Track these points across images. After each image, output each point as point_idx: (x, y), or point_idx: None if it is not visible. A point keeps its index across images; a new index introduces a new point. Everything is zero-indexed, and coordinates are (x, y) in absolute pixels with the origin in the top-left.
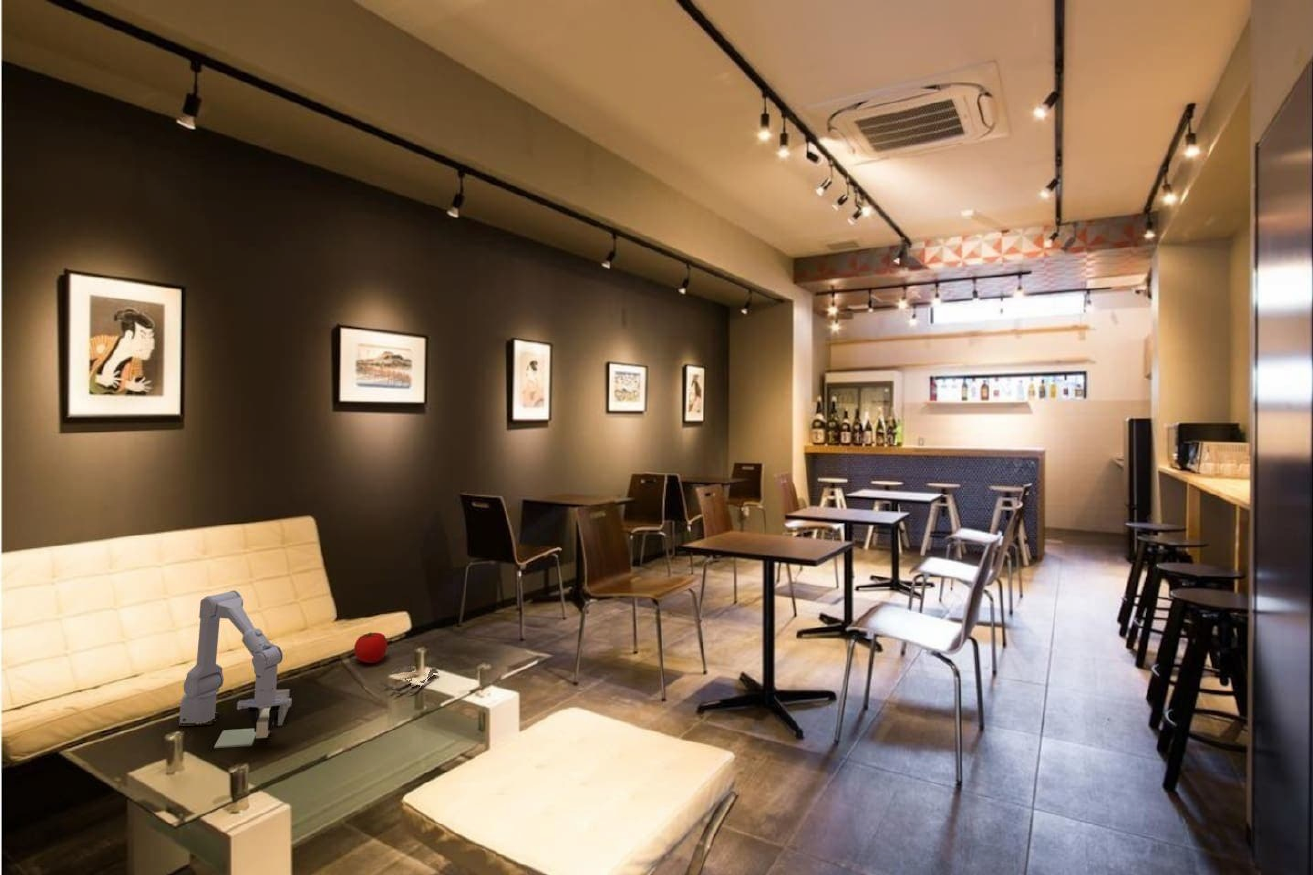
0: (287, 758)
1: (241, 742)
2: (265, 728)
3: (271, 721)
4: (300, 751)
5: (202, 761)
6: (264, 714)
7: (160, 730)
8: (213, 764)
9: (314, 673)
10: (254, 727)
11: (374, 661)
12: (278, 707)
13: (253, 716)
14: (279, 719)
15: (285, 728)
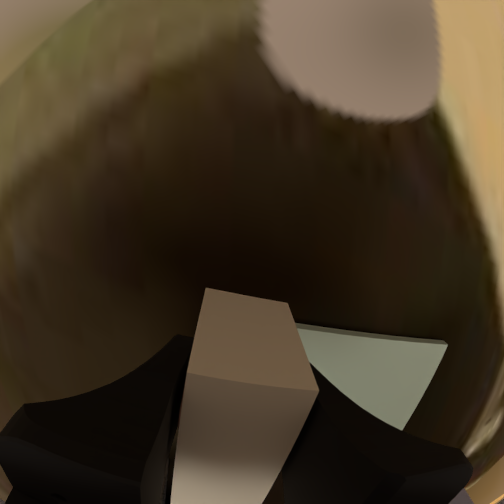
0: (102, 83)
1: (343, 355)
2: (216, 330)
3: (148, 374)
4: (37, 151)
5: (492, 228)
6: (230, 498)
7: (489, 453)
8: (466, 175)
9: None
10: (317, 371)
11: None
12: (18, 497)
13: (385, 442)
14: None
15: None
